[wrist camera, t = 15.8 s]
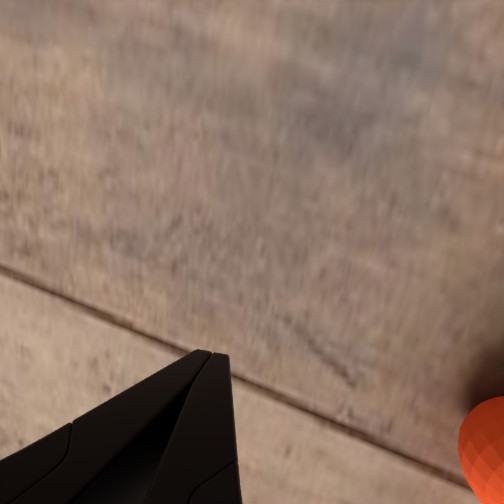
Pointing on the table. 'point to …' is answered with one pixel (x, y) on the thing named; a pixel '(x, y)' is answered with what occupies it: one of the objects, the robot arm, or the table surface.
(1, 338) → the table surface
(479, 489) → the clementine
